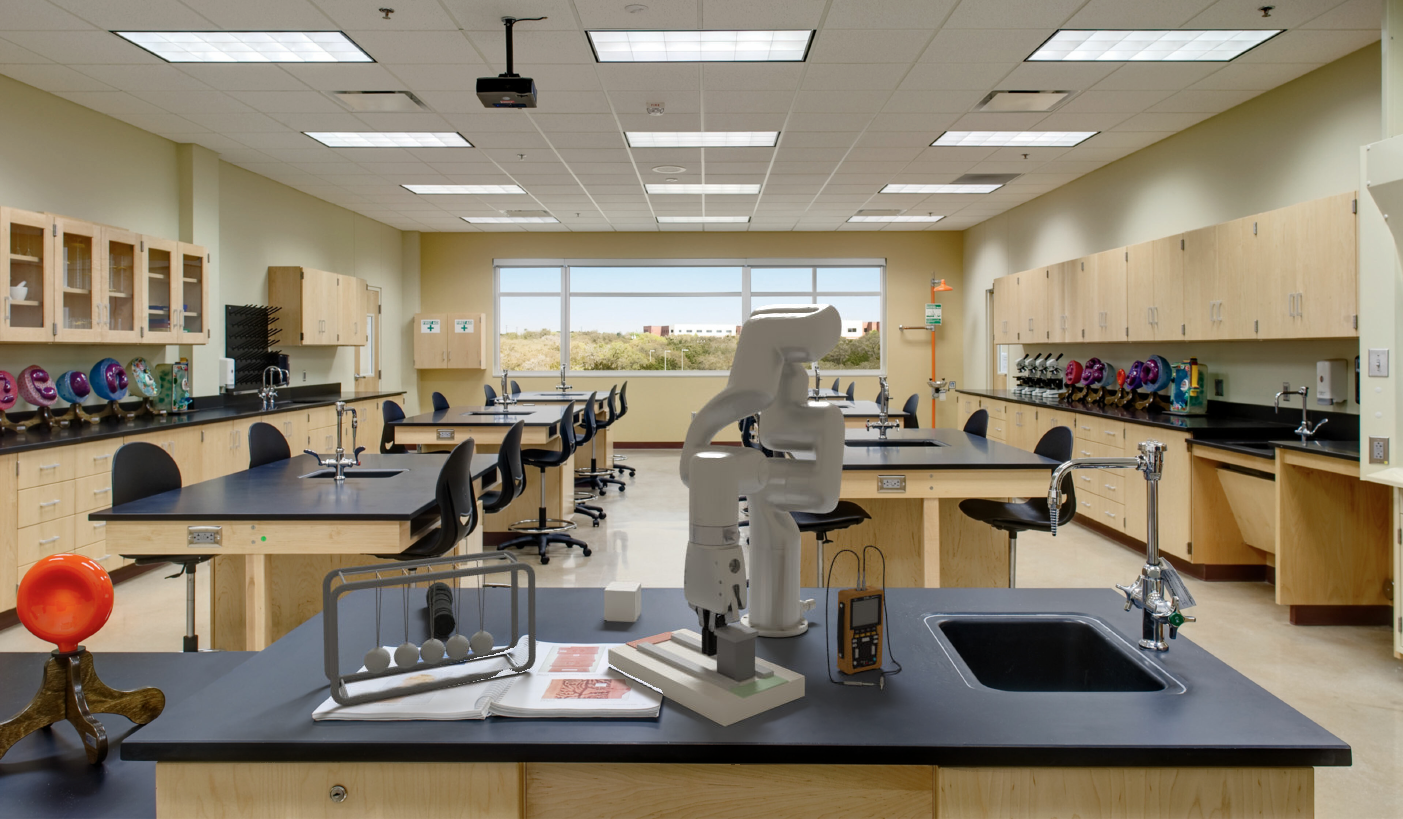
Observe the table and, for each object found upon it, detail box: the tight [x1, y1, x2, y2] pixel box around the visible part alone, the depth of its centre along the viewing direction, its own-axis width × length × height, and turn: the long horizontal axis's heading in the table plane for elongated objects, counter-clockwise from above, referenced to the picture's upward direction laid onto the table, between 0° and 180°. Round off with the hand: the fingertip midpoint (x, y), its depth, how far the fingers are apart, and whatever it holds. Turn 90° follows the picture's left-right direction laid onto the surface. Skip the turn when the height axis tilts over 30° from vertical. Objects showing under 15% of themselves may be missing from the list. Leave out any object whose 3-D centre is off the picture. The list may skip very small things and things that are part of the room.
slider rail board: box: [607, 628, 806, 727], centre depth 128 cm, size 16×28×4 cm, turn 41°
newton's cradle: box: [322, 549, 537, 707], centre depth 129 cm, size 30×10×18 cm, turn 119°
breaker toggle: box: [714, 622, 759, 682], centre depth 122 cm, size 5×5×7 cm
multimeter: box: [825, 545, 902, 690], centre depth 130 cm, size 15×10×20 cm
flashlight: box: [425, 581, 456, 638], centre depth 157 cm, size 5×21×5 cm, turn 20°
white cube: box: [603, 581, 642, 623], centre depth 160 cm, size 6×6×6 cm
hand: (712, 652), depth 126 cm, fingers closed
